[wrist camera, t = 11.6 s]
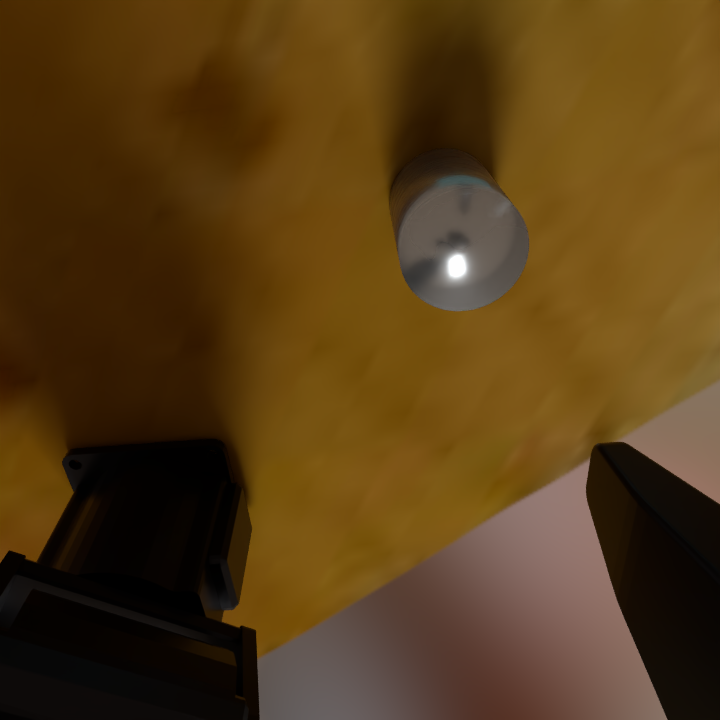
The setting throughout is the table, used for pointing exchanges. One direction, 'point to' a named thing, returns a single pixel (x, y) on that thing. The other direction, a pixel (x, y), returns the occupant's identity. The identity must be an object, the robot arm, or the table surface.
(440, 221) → the short pin
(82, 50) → the table surface
